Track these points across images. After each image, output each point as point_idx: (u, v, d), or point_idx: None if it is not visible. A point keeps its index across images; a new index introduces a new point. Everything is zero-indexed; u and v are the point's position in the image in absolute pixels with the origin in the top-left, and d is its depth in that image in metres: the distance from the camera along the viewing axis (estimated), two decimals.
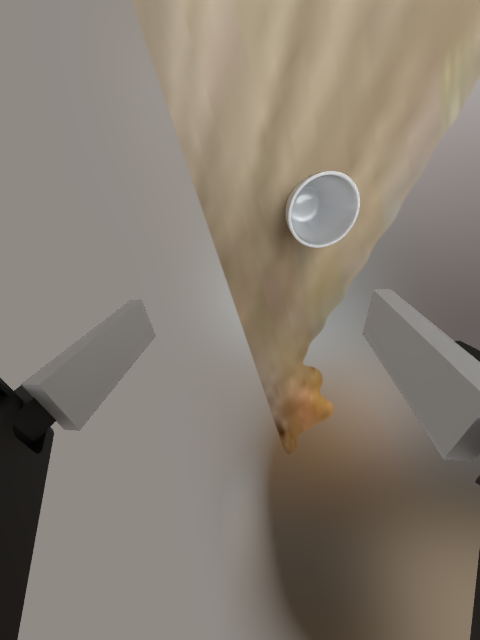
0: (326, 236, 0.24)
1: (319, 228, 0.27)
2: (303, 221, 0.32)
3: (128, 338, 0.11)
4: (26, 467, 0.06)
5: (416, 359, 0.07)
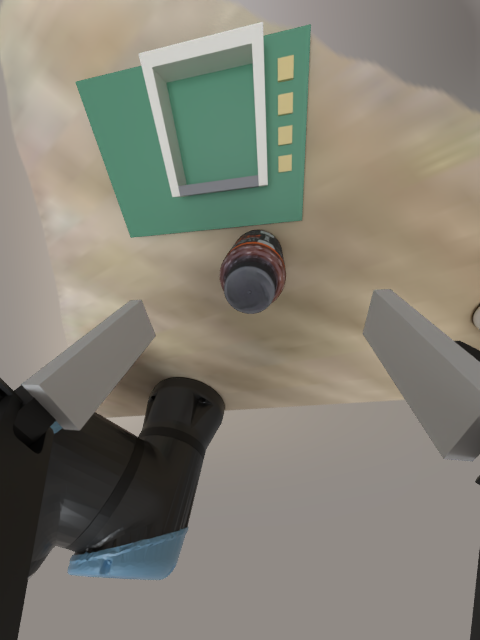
0: None
1: None
2: None
3: (128, 338, 0.11)
4: (26, 467, 0.06)
5: (416, 359, 0.07)
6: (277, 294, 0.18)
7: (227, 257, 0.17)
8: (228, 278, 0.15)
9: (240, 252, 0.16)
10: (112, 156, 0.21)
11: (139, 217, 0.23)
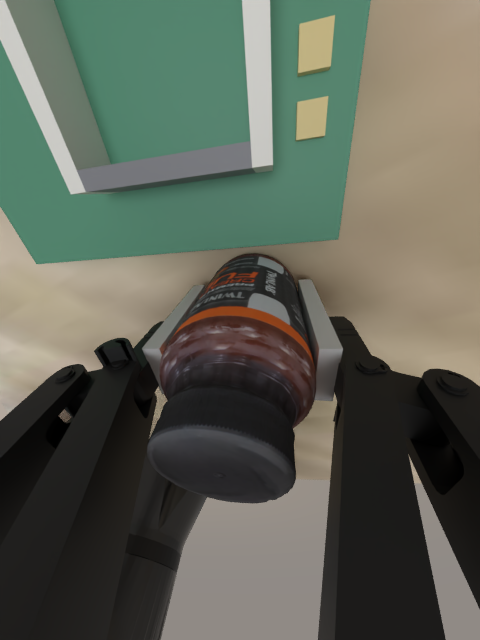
0: None
1: None
2: None
3: None
4: (137, 430, 0.07)
5: (307, 330, 0.09)
6: None
7: (170, 347, 0.07)
8: (153, 444, 0.05)
9: (199, 343, 0.06)
10: None
11: (41, 231, 0.13)
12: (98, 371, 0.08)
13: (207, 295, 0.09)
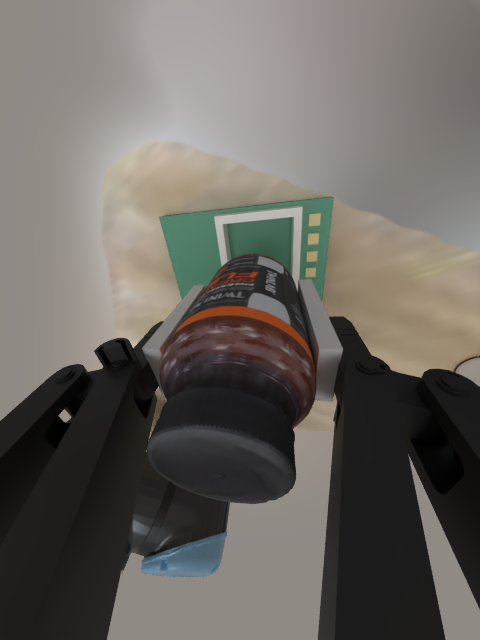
0: None
1: None
2: None
3: None
4: (137, 430, 0.07)
5: (307, 330, 0.09)
6: (295, 426, 0.07)
7: (170, 347, 0.07)
8: (152, 444, 0.05)
9: (199, 343, 0.06)
10: (179, 260, 0.27)
11: None
12: (98, 371, 0.08)
13: (207, 295, 0.09)
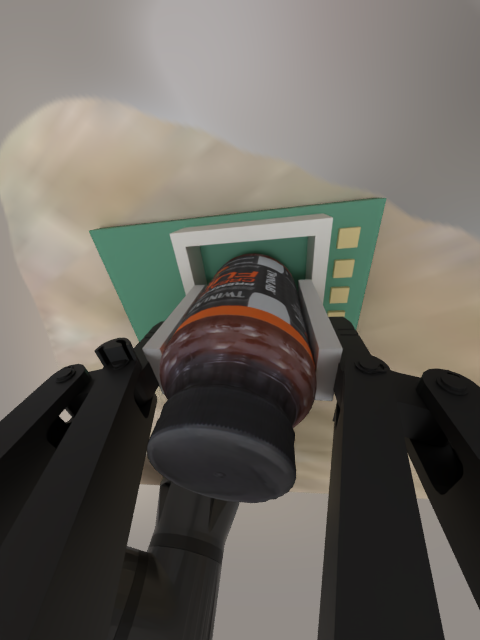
0: None
1: None
2: None
3: None
4: (137, 430, 0.07)
5: (307, 330, 0.09)
6: (295, 425, 0.07)
7: (170, 346, 0.07)
8: (153, 443, 0.05)
9: (199, 343, 0.06)
10: (130, 295, 0.18)
11: None
12: (98, 371, 0.08)
13: (207, 294, 0.09)
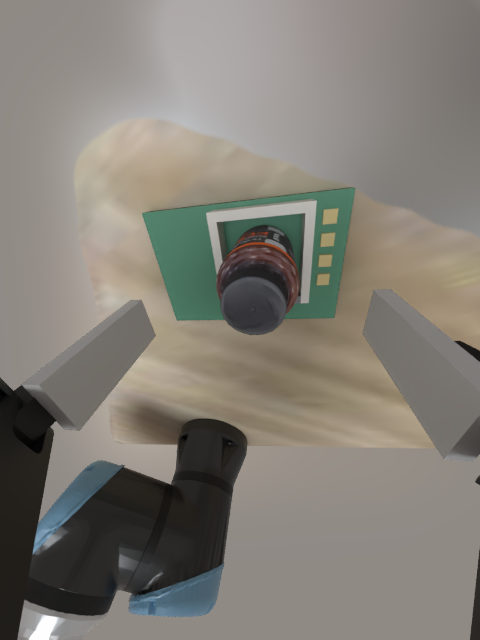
0: None
1: None
2: None
3: (128, 338, 0.11)
4: (26, 467, 0.06)
5: (416, 359, 0.07)
6: (288, 308, 0.14)
7: (225, 262, 0.13)
8: (225, 291, 0.12)
9: (242, 256, 0.13)
10: (167, 264, 0.23)
11: (186, 307, 0.26)
12: None
13: (240, 242, 0.15)
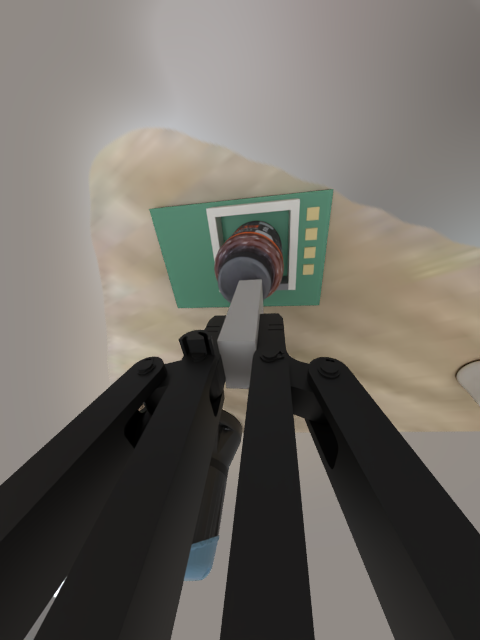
0: None
1: None
2: None
3: None
4: (208, 429, 0.07)
5: None
6: (274, 287, 0.17)
7: (222, 247, 0.16)
8: (222, 269, 0.14)
9: (236, 242, 0.16)
10: (171, 255, 0.26)
11: (187, 295, 0.29)
12: (172, 364, 0.08)
13: (235, 232, 0.18)
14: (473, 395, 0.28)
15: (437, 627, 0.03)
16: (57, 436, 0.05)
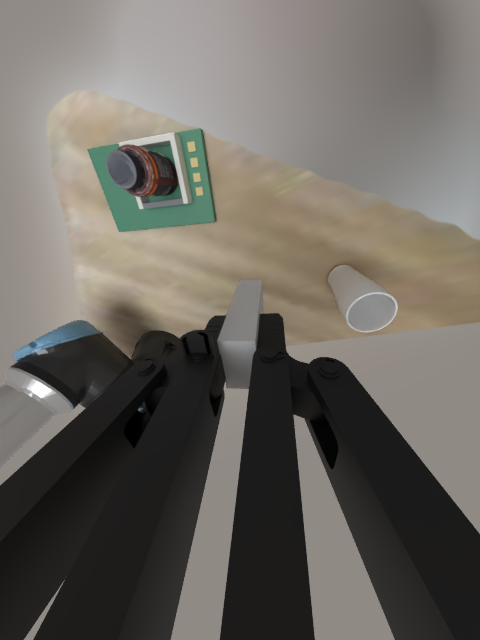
0: (385, 295, 0.30)
1: None
2: None
3: None
4: (208, 429, 0.07)
5: None
6: (149, 181, 0.28)
7: None
8: (107, 160, 0.25)
9: (119, 148, 0.26)
10: (107, 186, 0.37)
11: (123, 220, 0.40)
12: (172, 364, 0.08)
13: None
14: (331, 288, 0.39)
15: (438, 627, 0.03)
16: (57, 436, 0.05)
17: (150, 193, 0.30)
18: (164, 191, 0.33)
